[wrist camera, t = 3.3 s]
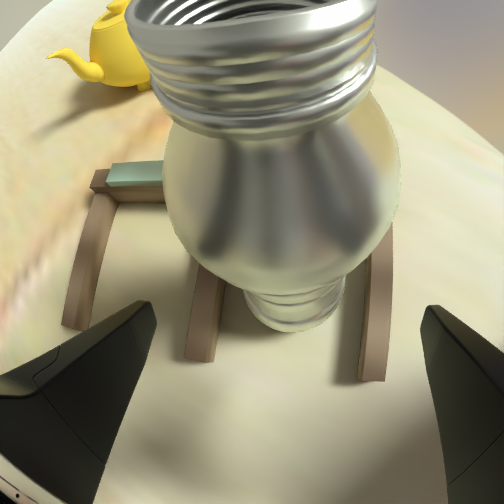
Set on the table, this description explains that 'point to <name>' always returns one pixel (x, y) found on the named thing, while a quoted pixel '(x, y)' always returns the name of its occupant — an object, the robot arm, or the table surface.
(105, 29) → the teapot
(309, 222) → the plastic bottle
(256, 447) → the table surface
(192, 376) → the table surface
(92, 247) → the comb rack
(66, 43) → the table surface
